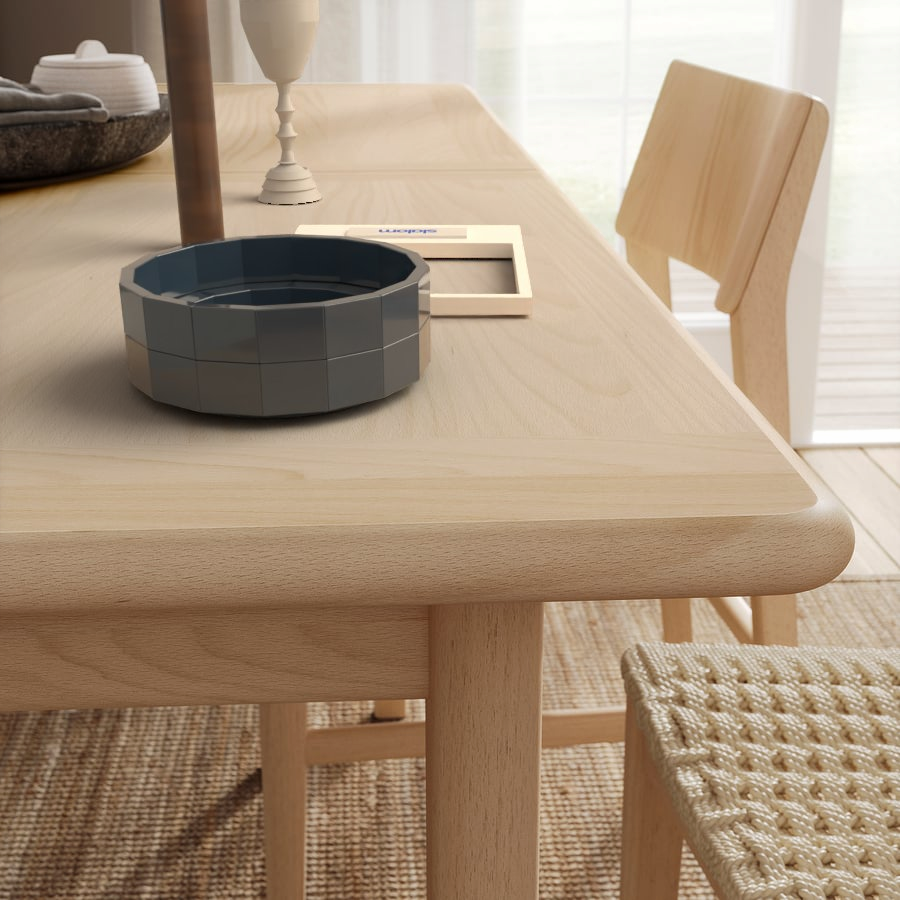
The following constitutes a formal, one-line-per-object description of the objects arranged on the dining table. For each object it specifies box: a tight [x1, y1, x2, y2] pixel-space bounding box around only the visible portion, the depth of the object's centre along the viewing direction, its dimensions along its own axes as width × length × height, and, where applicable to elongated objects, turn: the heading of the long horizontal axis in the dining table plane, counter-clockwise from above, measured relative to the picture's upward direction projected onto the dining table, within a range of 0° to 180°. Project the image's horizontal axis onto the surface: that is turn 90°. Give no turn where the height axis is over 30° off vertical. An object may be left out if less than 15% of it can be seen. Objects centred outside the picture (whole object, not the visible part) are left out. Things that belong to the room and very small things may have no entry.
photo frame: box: [293, 224, 534, 316], centre depth 70 cm, size 15×1×18 cm
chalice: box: [238, 0, 323, 205], centre depth 89 cm, size 7×7×18 cm
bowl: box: [118, 233, 432, 419], centre depth 52 cm, size 13×13×5 cm
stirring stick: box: [158, 0, 226, 246], centre depth 74 cm, size 3×3×16 cm
